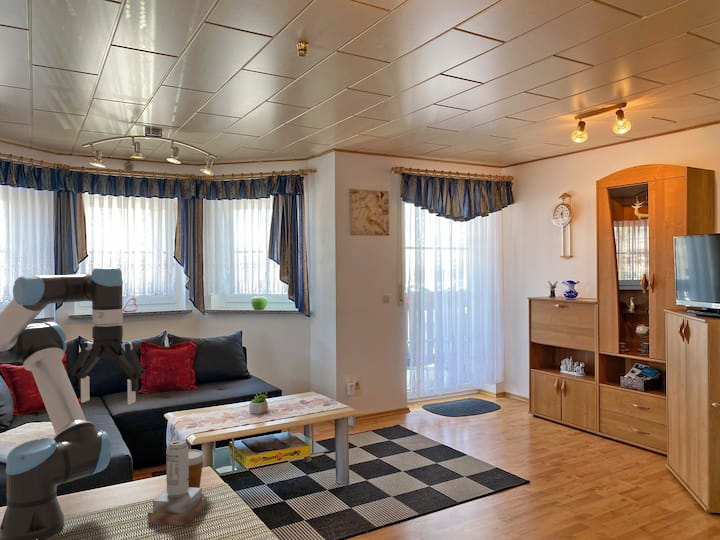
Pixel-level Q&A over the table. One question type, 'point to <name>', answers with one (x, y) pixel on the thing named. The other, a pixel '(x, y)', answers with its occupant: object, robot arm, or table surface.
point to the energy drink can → (177, 468)
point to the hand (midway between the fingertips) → (108, 402)
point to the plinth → (177, 516)
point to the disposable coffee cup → (195, 467)
